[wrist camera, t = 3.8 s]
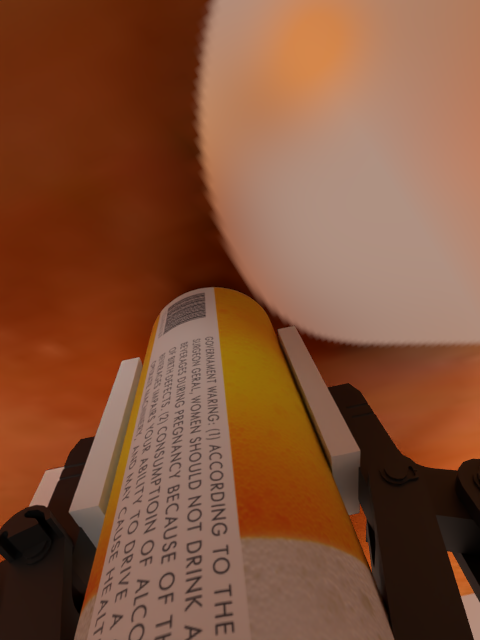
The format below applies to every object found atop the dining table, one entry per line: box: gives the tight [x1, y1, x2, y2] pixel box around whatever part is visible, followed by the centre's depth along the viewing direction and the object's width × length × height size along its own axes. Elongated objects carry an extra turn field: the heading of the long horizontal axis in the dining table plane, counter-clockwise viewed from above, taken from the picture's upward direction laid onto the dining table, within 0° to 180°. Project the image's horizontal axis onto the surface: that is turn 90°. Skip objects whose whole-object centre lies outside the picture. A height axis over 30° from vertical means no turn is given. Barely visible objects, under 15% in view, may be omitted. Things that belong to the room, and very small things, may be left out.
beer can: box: [74, 287, 395, 640], centre depth 11 cm, size 6×6×15 cm
